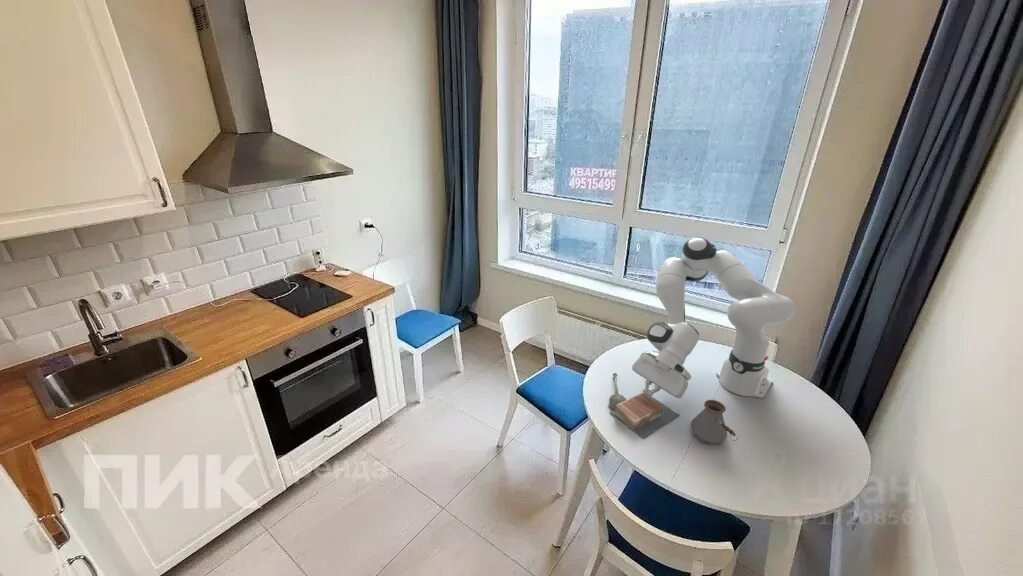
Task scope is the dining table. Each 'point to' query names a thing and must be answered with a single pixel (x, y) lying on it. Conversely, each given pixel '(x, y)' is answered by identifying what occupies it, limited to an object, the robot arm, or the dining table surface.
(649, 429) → the charcoal rubber mat
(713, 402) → the coffee pot
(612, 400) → the soupspoon
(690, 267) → the robot arm
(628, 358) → the dining table surface
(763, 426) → the dining table surface
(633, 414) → the brown wooden block
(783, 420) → the dining table surface
